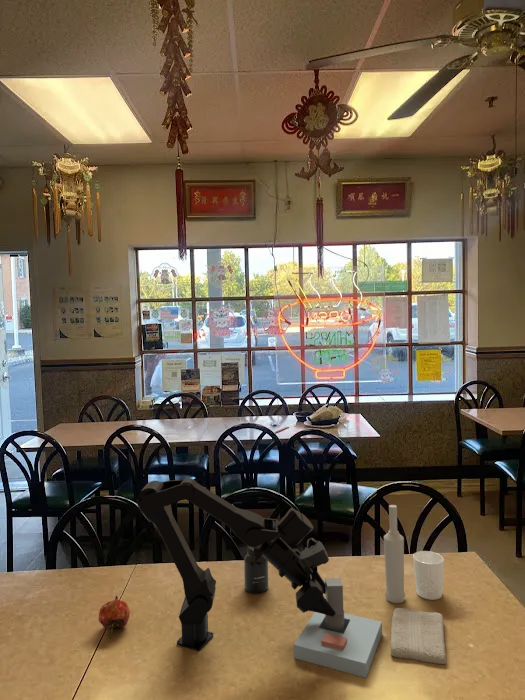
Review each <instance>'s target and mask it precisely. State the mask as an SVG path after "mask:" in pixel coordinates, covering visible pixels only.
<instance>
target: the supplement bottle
mask: <svg viewBox="0 0 525 700" xmlns="http://www.w3.org/2000/svg"><path fill="white" fill-rule="evenodd" d="M243 563H244V564H243V566H244V567H243V569H244V571H243V573H244V575H243V577H244V580H243V581H244V588H245V591H246V592H248V593H251V594H263V593H265V592H266V591H267V590H268V588H269V561H268V560H267V559H266V558H265V557H263V556H261V557H260V558H259V559H258V561H254V551H253V547H249V546H247V554H246V555H245V557H244V559H243Z"/></svg>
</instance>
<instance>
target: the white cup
mask: <svg viewBox="0 0 525 700" xmlns="http://www.w3.org/2000/svg"><path fill="white" fill-rule="evenodd" d="M412 555H413V556H412V558H413V559H412V560H413V573H414V582H415V591H416V594H417V595H418V596H419V597H420V598H423V599H425V600H429V601H430V600H431V601H434V600H439V599H441V598H442V597H443V591H444V589H443V587H444V567H445V566H444V565H445V558H444V557H443V555H441V553H440V554H439V553H437V552H435V551H430V550H429V551H428V550H421V551H417V552H416V551H415V552H414V553H413V554H412Z"/></svg>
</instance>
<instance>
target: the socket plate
mask: <svg viewBox="0 0 525 700" xmlns="http://www.w3.org/2000/svg"><path fill="white" fill-rule="evenodd" d="M344 629H345V632H344V634H342V633H338V632H334V631H330V630H326V622H325V614H321V613H318V612H313V614H312V615H311V617H310V619H309V620H308V622H307V624H306V625H305V627H304V628H303V630H302V631H301V633H300V634H299V636H298V638H297V639H296V640H295V642H294V644H293V656H294V657H293V658H294V659H297V660H299V661H304V662H307V663H311V664H315V665H318V666H322V667H326V668H329V669H333V670H336V671H340V672H344V673H347V674H351V675H355V676H358V677H361V678H365V679H366V678H367V676H368V673H369V671H370V668H371V666H372V662H373V660H374V658H375V654H376V652H377V649H378V646H379V643H380V641H381V639H382V635H383V621H381V620H375V619H371V618H367V617H362V616H359V615H353V614H348V613H345V612H344Z"/></svg>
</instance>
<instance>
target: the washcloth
mask: <svg viewBox="0 0 525 700" xmlns="http://www.w3.org/2000/svg"><path fill="white" fill-rule="evenodd" d="M392 613H393V615H392V616H391V630H390V631H391V632H390V633H391V635H390V656H392V657H395V658H400V659H406V660H408V659H409V660H410V659H411V660H416V661H421V662H423V663H424V662H425V663H432V664H438V665H445V664H447V657H446V656H447V655H446V647H445V646H446V645H445V631H444V630H445V629H444V616H443V614H442V613H439V612H437V611H434V612H427V611H426V612H425V611H419V610H415V609H412V608H404V607H396V608H394V610H393V612H392Z"/></svg>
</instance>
